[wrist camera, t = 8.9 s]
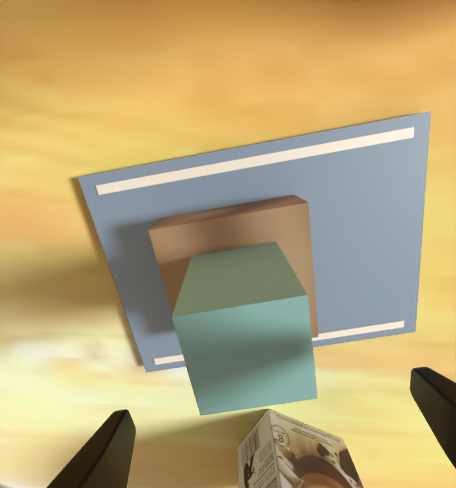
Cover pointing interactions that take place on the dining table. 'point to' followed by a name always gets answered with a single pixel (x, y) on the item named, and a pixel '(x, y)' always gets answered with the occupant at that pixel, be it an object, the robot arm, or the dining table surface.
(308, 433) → the coffee box
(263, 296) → the teal block
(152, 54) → the dining table surface
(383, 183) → the board
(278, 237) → the plinth
